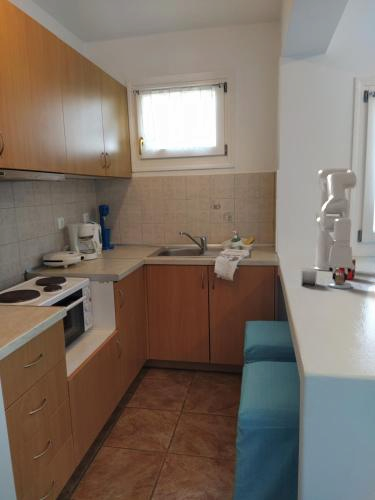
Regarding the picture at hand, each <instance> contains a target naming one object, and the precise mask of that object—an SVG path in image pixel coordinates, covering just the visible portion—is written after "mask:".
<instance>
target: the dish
mask: <svg viewBox="0 0 375 500" xmlns="http://www.w3.org/2000/svg"><path fill="white" fill-rule="evenodd" d="M326 285H327V287H328V288H331V289H336V290H348V289H352V283H350V282H347V281H345V282H344V284H335V282H334V280H331V281H327V282H326Z"/></svg>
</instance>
